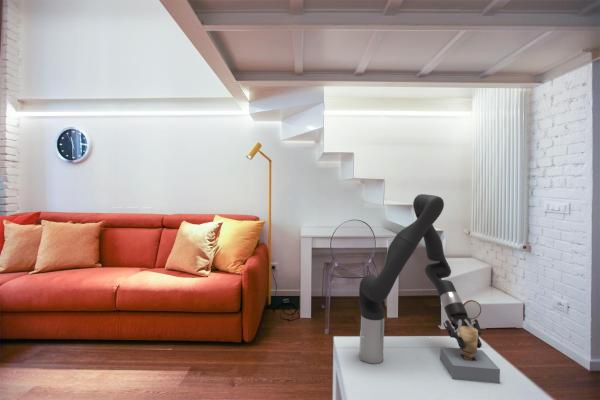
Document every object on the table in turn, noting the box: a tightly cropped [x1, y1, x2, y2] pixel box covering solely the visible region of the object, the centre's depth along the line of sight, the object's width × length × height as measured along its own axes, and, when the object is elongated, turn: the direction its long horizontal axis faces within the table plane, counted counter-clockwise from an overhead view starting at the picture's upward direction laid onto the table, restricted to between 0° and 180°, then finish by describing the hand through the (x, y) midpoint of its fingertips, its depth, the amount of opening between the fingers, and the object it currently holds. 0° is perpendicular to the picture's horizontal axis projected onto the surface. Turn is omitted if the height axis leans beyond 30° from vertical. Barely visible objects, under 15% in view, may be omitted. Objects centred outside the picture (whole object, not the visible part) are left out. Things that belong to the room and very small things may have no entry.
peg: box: [459, 326, 479, 361], centre depth 120 cm, size 6×6×13 cm
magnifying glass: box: [463, 299, 482, 327], centre depth 141 cm, size 9×2×20 cm, turn 91°
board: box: [439, 346, 501, 384], centre depth 120 cm, size 16×14×5 cm
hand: (471, 347), depth 118 cm, fingers closed on peg, 6 cm apart
